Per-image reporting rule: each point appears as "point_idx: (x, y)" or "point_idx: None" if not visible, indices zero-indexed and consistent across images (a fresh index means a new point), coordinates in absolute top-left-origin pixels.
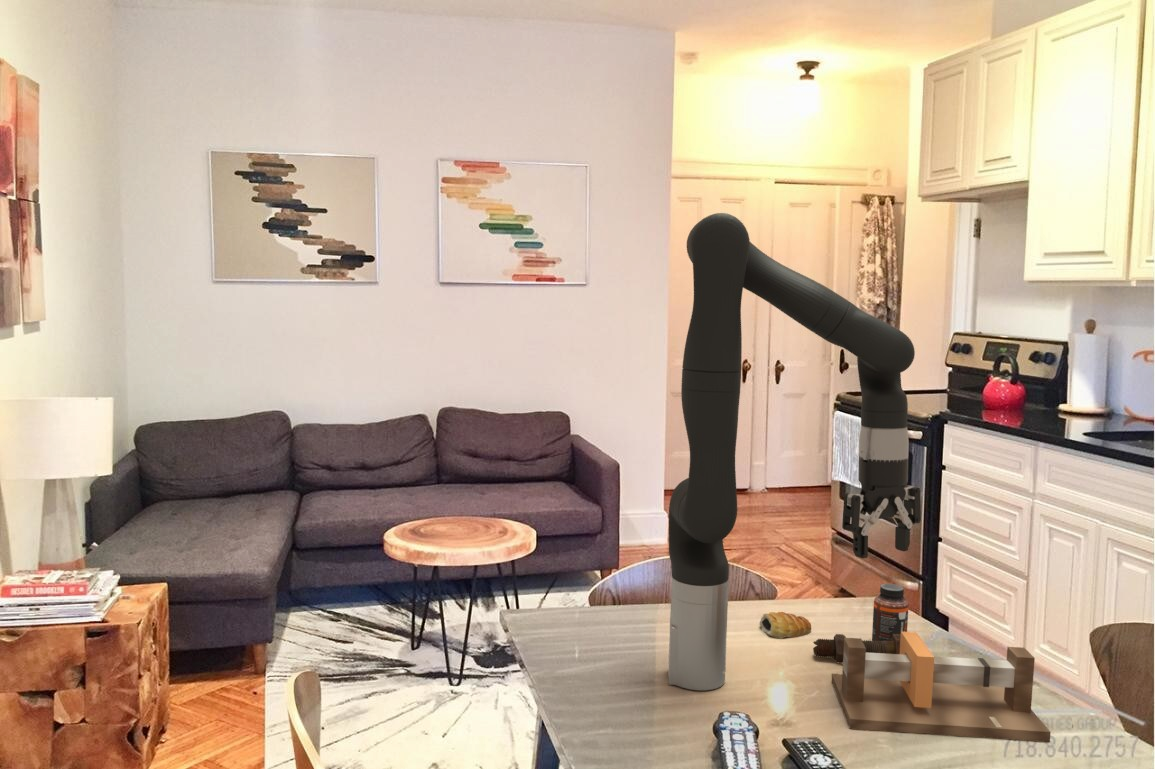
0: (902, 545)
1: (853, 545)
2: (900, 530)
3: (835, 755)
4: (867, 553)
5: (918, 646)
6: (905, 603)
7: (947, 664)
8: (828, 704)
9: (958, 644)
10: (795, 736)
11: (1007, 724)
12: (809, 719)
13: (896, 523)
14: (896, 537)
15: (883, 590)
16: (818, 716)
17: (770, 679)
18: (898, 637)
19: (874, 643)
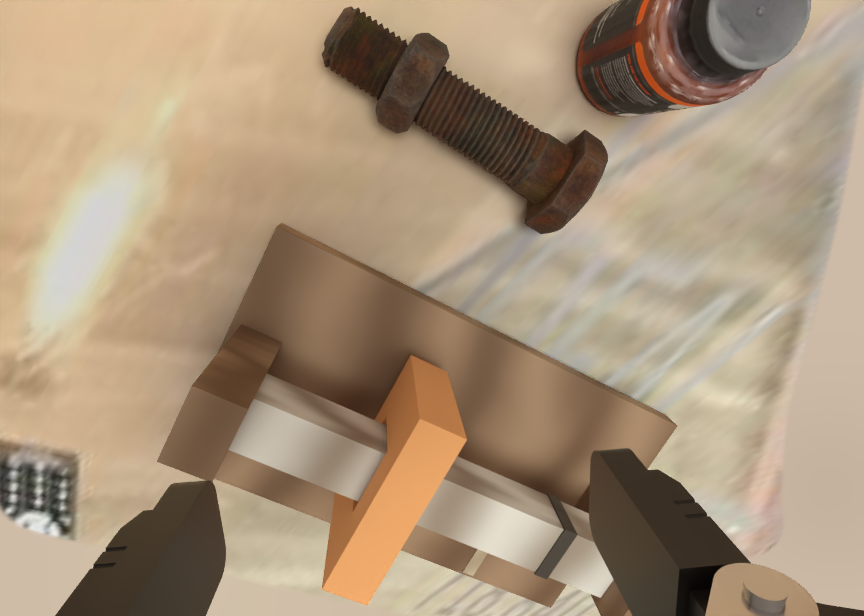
0: (604, 538)
1: (99, 561)
2: (663, 608)
3: (77, 527)
4: (213, 591)
5: (381, 533)
6: (734, 93)
7: (450, 537)
8: (196, 330)
9: (834, 123)
10: (24, 440)
11: (496, 566)
12: (102, 382)
13: (709, 599)
14: (627, 513)
15: (702, 14)
16: (134, 376)
17: (109, 139)
18: (576, 188)
19: (504, 149)
